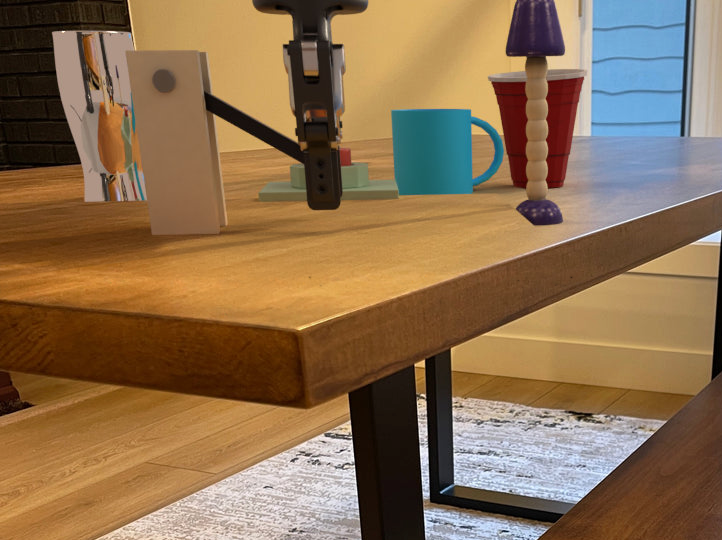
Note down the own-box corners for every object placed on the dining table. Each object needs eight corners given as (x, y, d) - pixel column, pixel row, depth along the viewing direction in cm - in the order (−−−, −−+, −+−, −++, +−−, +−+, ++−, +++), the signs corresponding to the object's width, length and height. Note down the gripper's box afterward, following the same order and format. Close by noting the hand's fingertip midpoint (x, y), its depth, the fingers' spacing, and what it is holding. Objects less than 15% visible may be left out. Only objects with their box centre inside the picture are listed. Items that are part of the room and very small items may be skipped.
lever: (327, 183, 73) (342, 153, 72) (324, 191, 68) (340, 158, 67) (152, 86, 69) (166, 53, 68) (135, 87, 64) (150, 51, 63)
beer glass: (165, 210, 93) (140, 31, 87) (86, 215, 90) (55, 29, 84) (149, 203, 98) (125, 34, 92) (74, 207, 95) (44, 33, 89)
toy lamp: (564, 226, 81) (567, -5, 74) (507, 227, 81) (505, -5, 74) (561, 219, 85) (564, -1, 78) (506, 219, 85) (505, 0, 78)
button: (305, 171, 88) (304, 150, 88) (308, 167, 92) (306, 147, 91) (351, 170, 89) (350, 149, 88) (352, 167, 92) (350, 147, 92)
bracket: (278, 238, 75) (260, 52, 70) (267, 258, 67) (245, 49, 62) (127, 242, 74) (98, 53, 69) (97, 262, 66) (61, 49, 61)
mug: (408, 198, 100) (404, 111, 97) (386, 191, 107) (381, 109, 104) (518, 193, 105) (517, 109, 101) (490, 186, 111) (489, 107, 108)
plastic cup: (469, 187, 111) (466, 69, 106) (526, 179, 119) (526, 69, 114) (549, 193, 105) (550, 68, 100) (604, 184, 113) (607, 68, 108)
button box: (260, 218, 87) (255, 170, 85) (271, 205, 96) (266, 161, 94) (399, 215, 88) (397, 168, 86) (396, 203, 97) (394, 159, 95)
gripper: (257, -57, 70) (280, 195, 77) (231, -88, 57) (262, 218, 64) (364, -56, 71) (378, 193, 78) (363, -87, 58) (380, 215, 65)
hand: (326, 203), depth 71 cm, fingers closed on lever, 5 cm apart
